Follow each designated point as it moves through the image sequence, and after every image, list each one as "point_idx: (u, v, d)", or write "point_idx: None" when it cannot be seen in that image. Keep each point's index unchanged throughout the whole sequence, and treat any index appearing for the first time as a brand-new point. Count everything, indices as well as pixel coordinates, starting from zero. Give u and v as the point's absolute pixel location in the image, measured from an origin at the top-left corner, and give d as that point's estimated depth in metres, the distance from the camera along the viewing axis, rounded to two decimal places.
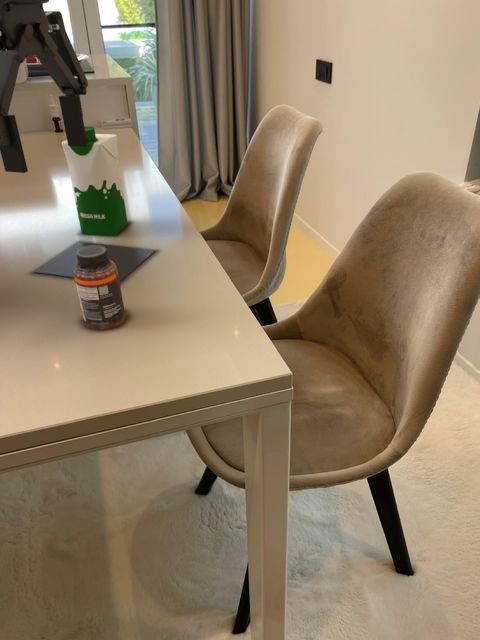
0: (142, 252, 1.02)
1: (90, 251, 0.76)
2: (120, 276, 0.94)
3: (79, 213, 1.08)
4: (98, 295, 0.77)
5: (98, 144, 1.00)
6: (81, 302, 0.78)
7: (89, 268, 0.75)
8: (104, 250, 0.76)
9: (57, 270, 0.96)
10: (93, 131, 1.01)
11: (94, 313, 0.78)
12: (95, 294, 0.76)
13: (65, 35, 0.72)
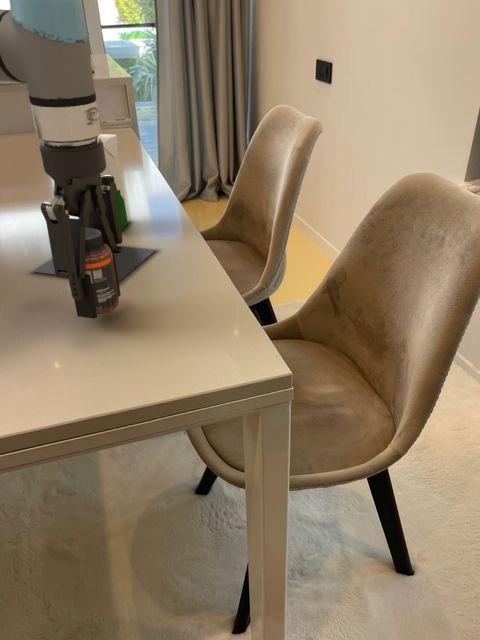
0: (142, 252, 1.02)
1: (85, 234, 0.75)
2: (120, 276, 0.94)
3: None
4: (92, 279, 0.76)
5: None
6: None
7: None
8: (99, 233, 0.75)
9: None
10: None
11: None
12: None
13: (113, 196, 0.77)
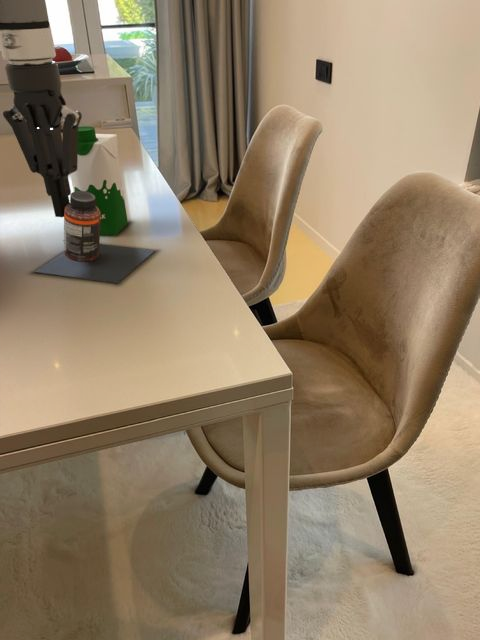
0: (142, 252, 1.02)
1: (82, 196, 0.93)
2: (120, 276, 0.94)
3: None
4: (82, 233, 0.94)
5: (98, 144, 1.00)
6: (65, 235, 0.95)
7: (79, 210, 0.92)
8: (93, 198, 0.93)
9: (57, 270, 0.96)
10: (93, 131, 1.01)
11: (75, 246, 0.95)
12: (79, 231, 0.94)
13: (67, 131, 0.86)
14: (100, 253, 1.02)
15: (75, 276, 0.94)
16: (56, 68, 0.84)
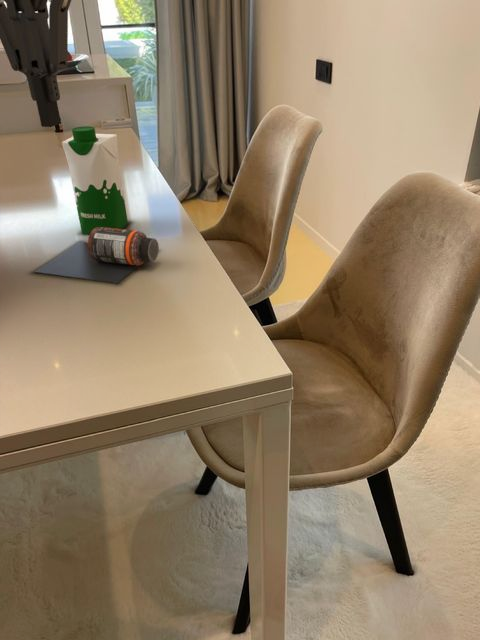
0: None
1: (153, 250, 0.95)
2: (120, 276, 0.94)
3: (79, 212, 1.08)
4: (118, 258, 0.95)
5: (98, 144, 1.00)
6: (109, 239, 0.94)
7: (139, 254, 0.94)
8: (155, 259, 0.97)
9: (57, 270, 0.96)
10: (93, 131, 1.01)
11: (102, 250, 0.95)
12: (119, 256, 0.95)
13: (54, 13, 0.72)
14: None
15: (75, 276, 0.94)
16: None
